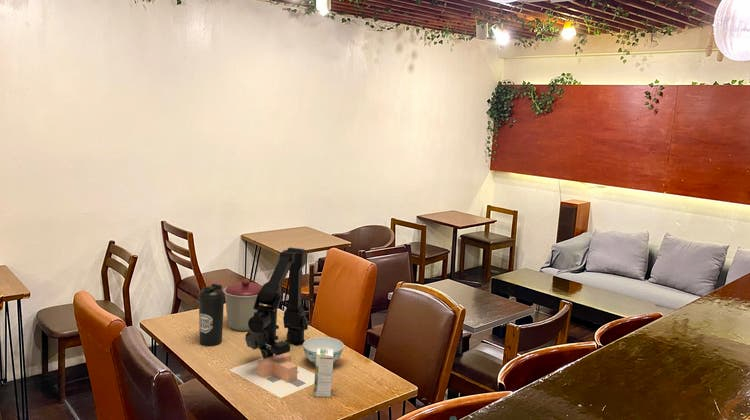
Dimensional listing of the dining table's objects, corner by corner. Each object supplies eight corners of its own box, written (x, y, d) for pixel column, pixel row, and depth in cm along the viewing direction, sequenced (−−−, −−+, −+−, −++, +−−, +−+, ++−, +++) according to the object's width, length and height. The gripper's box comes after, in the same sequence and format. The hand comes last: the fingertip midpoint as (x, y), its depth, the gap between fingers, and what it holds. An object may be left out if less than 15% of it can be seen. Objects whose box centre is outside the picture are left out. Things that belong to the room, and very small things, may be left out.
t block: (283, 364, 207) (284, 351, 206) (305, 375, 199) (306, 362, 198) (256, 374, 198) (257, 360, 197) (278, 386, 190) (279, 372, 189)
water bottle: (191, 343, 221) (192, 287, 217) (208, 335, 230) (209, 280, 227) (213, 349, 217) (214, 291, 214) (229, 340, 227) (230, 285, 223)
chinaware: (293, 364, 209) (294, 344, 208) (321, 352, 221) (322, 333, 220) (323, 377, 200) (324, 356, 199) (350, 364, 212) (352, 344, 211)
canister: (238, 316, 254) (239, 271, 250) (273, 323, 248) (275, 277, 244) (213, 329, 237) (214, 281, 234) (251, 337, 231) (252, 288, 228)
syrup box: (314, 388, 191) (316, 348, 189) (331, 389, 191) (333, 348, 189) (313, 396, 185) (315, 355, 183) (331, 397, 186) (333, 355, 184)
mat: (272, 355, 215) (273, 354, 215) (324, 380, 198) (325, 378, 197) (228, 371, 200) (228, 369, 200) (280, 399, 182) (280, 397, 182)
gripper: (233, 320, 201) (232, 362, 203) (267, 336, 189) (265, 380, 191) (258, 314, 209) (257, 354, 212) (292, 328, 197) (290, 370, 200)
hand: (266, 364), depth 203 cm, fingers closed
